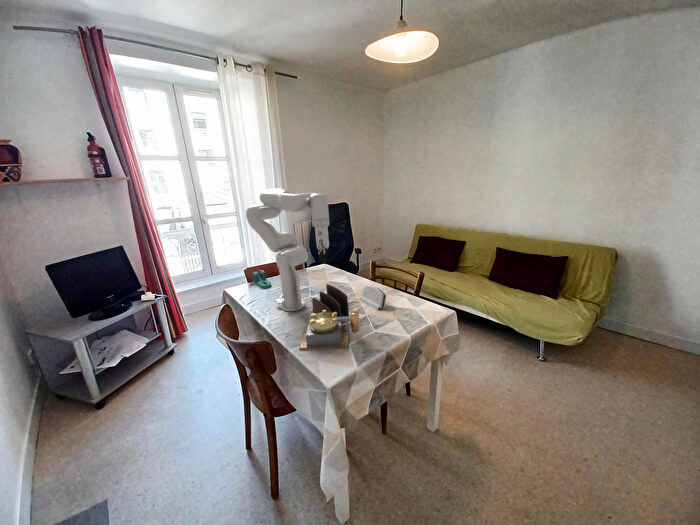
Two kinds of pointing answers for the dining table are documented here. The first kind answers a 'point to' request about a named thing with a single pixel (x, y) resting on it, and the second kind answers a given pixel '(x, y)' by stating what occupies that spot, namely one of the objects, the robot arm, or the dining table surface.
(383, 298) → the hinge
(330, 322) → the gold rounded piece
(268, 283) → the bracket
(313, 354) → the dining table surface
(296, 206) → the robot arm
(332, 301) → the letter holder
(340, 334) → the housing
